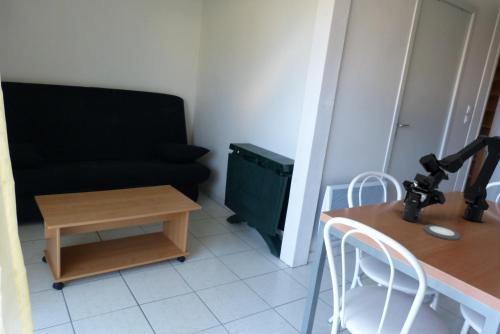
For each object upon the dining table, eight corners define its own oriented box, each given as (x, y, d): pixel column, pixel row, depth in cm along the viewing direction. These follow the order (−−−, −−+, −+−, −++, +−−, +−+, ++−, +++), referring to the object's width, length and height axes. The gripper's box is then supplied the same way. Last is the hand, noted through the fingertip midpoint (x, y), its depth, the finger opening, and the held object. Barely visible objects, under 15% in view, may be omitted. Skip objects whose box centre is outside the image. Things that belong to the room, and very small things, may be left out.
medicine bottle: (417, 206, 180) (422, 183, 177) (423, 211, 173) (428, 187, 170) (403, 204, 180) (407, 181, 178) (407, 209, 173) (412, 185, 171)
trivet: (448, 228, 153) (449, 226, 153) (466, 241, 140) (467, 239, 140) (418, 225, 152) (418, 223, 152) (433, 238, 140) (433, 235, 140)
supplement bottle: (420, 223, 155) (426, 197, 152) (403, 221, 156) (409, 194, 153) (416, 218, 162) (422, 192, 159) (400, 215, 163) (406, 190, 160)
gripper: (409, 162, 163) (387, 187, 161) (447, 173, 147) (424, 201, 145) (417, 178, 169) (396, 202, 166) (455, 191, 153) (432, 217, 150)
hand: (411, 205), depth 157 cm, fingers open, 7 cm apart
